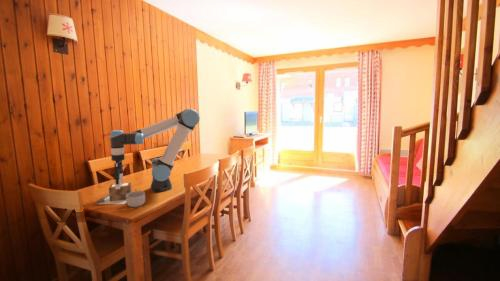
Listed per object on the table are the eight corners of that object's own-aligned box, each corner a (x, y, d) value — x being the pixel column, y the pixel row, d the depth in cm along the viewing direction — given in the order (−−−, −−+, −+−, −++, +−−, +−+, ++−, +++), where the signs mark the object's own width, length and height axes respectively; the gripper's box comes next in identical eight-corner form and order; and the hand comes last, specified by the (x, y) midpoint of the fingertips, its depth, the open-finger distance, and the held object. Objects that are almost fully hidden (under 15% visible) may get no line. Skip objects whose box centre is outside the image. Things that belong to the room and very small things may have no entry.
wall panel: (138, 193, 178) (138, 191, 178) (124, 204, 158) (123, 201, 158) (113, 193, 178) (112, 191, 178) (95, 204, 158) (95, 201, 158)
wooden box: (131, 195, 174) (130, 182, 173) (130, 199, 166) (129, 185, 165) (112, 197, 170) (111, 184, 169) (109, 201, 162) (108, 187, 161)
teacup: (143, 208, 152) (143, 195, 151) (124, 210, 150) (123, 197, 149) (148, 200, 166) (147, 188, 165) (130, 201, 164) (129, 189, 163)
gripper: (114, 151, 174) (116, 181, 177) (107, 158, 151) (109, 192, 154) (126, 150, 177) (128, 180, 180) (121, 157, 154) (123, 191, 156)
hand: (119, 185), depth 167 cm, fingers open, 13 cm apart
